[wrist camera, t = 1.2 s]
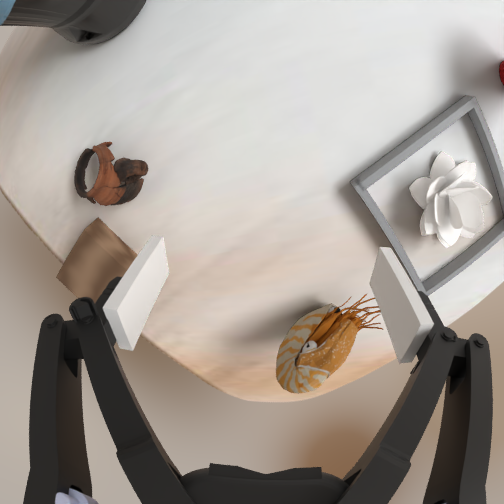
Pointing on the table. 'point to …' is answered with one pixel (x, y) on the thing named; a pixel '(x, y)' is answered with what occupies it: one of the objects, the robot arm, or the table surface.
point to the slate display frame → (410, 147)
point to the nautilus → (318, 346)
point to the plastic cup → (502, 72)
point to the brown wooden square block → (95, 261)
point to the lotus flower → (450, 200)
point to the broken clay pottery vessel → (110, 177)
